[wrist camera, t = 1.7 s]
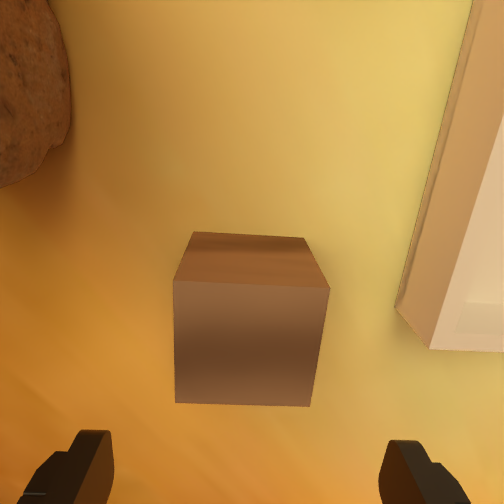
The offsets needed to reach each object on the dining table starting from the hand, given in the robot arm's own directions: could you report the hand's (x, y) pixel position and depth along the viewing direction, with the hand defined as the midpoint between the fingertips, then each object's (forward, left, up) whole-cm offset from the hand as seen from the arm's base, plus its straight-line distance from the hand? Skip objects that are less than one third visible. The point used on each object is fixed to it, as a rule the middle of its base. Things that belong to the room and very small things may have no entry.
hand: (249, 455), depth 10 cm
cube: (0, 0, -11) cm, 11 cm away
